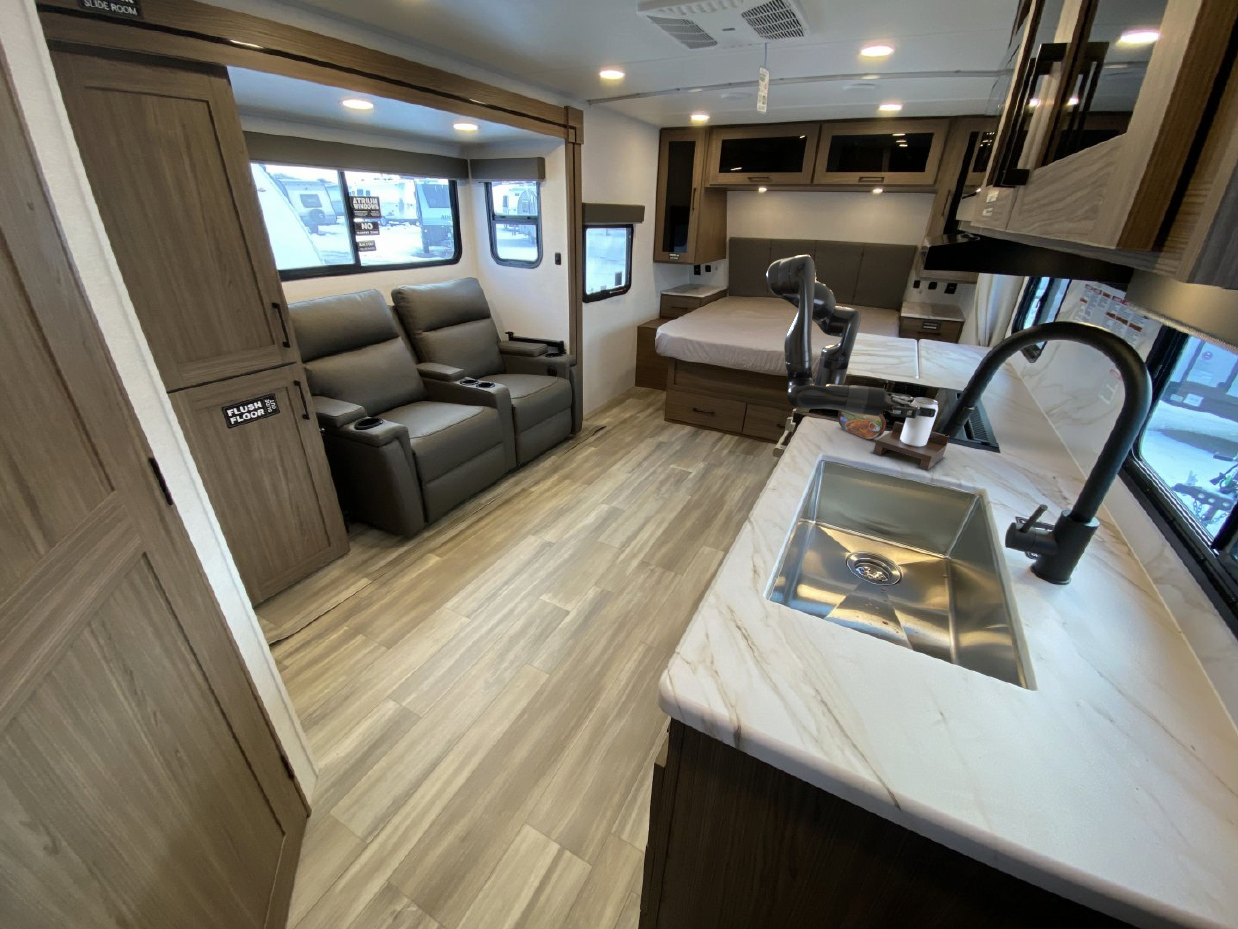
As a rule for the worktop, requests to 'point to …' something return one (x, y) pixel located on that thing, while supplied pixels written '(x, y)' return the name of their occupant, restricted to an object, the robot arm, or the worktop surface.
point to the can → (919, 424)
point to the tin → (862, 424)
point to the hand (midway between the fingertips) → (931, 408)
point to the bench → (927, 452)
